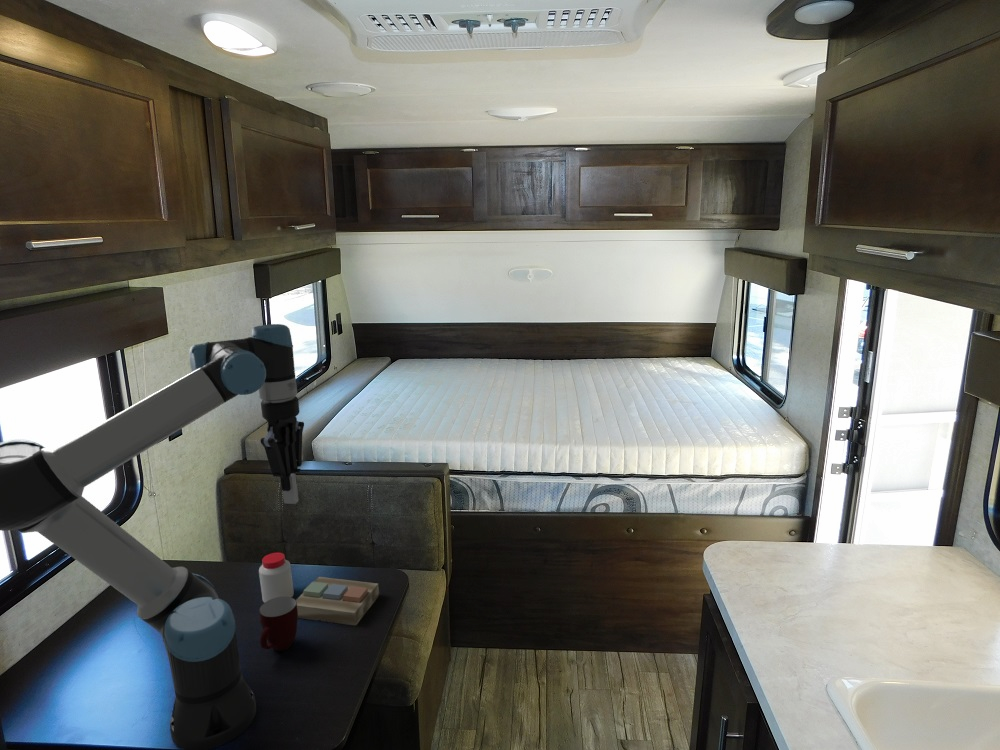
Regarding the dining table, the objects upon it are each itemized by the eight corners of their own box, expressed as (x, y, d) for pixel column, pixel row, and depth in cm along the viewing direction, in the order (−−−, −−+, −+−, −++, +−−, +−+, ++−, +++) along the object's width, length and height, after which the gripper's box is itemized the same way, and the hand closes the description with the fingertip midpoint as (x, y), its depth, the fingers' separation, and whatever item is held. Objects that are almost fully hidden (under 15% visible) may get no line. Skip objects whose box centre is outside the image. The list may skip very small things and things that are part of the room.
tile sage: (320, 603, 158) (319, 592, 157) (304, 601, 159) (303, 590, 158) (329, 593, 162) (328, 583, 161) (313, 592, 163) (312, 581, 162)
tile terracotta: (360, 608, 155) (359, 597, 154) (344, 606, 156) (343, 595, 155) (368, 598, 159) (367, 587, 158) (352, 596, 160) (351, 586, 159)
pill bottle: (261, 592, 166) (256, 554, 164) (291, 585, 170) (287, 547, 167) (263, 607, 160) (258, 568, 157) (295, 599, 163) (291, 560, 160)
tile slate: (340, 606, 156) (339, 595, 156) (324, 604, 157) (323, 593, 157) (348, 596, 160) (347, 585, 160) (332, 594, 161) (331, 583, 161)
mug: (285, 665, 138) (280, 625, 135) (251, 663, 139) (245, 622, 137) (307, 635, 148) (302, 597, 146) (275, 633, 149) (270, 595, 147)
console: (355, 625, 151) (354, 612, 150) (292, 617, 155) (291, 604, 154) (379, 595, 163) (378, 583, 162) (320, 588, 167) (318, 576, 167)
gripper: (276, 407, 126) (289, 516, 131) (311, 391, 138) (322, 491, 144) (244, 405, 128) (258, 513, 133) (281, 390, 140) (292, 489, 145)
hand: (291, 502), depth 138 cm, fingers closed
